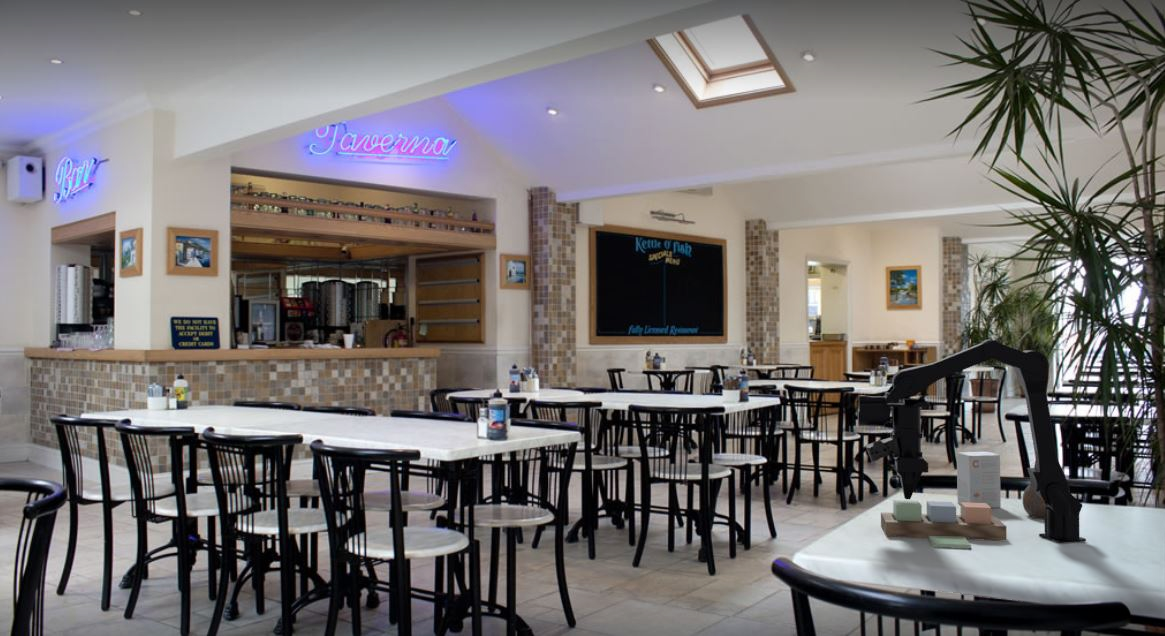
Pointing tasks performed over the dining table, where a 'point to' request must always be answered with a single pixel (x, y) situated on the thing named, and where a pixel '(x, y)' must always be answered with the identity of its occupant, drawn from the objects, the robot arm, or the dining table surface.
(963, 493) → the small box
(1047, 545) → the dining table surface
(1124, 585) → the dining table surface
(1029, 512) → the vase
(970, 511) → the terracotta button
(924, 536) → the walnut panel
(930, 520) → the slate button
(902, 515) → the sage button
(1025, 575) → the dining table surface
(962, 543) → the sage tile
